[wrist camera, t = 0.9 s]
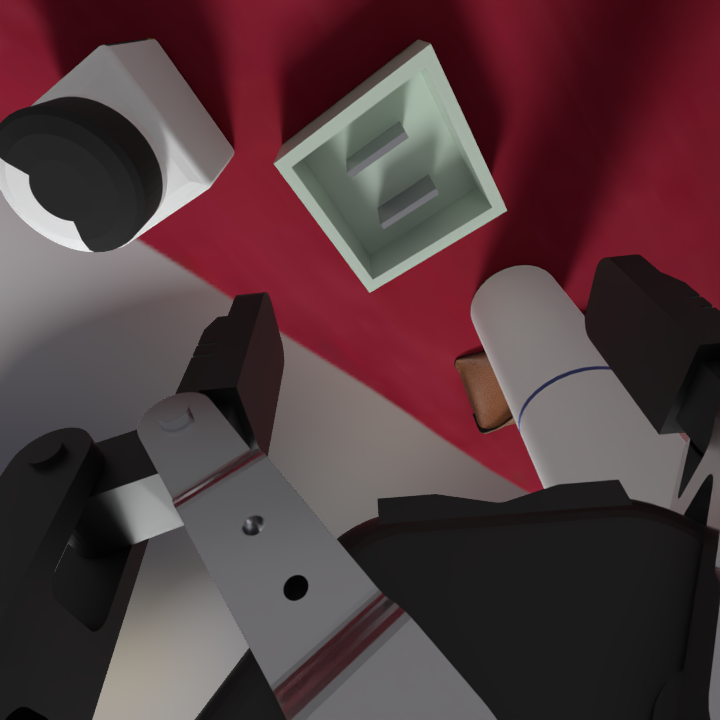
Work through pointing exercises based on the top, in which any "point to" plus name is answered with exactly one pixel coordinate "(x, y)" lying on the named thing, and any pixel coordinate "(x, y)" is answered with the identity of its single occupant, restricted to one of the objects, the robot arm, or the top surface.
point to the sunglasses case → (484, 393)
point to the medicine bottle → (110, 149)
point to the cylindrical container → (568, 390)
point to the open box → (392, 169)
